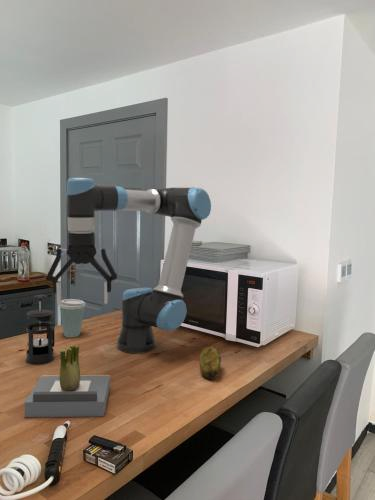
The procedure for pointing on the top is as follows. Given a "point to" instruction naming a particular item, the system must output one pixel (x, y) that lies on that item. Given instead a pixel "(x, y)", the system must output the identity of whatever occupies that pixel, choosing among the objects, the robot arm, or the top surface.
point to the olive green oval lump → (210, 362)
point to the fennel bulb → (70, 368)
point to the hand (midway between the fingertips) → (82, 303)
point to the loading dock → (68, 397)
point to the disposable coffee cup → (72, 316)
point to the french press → (40, 347)
